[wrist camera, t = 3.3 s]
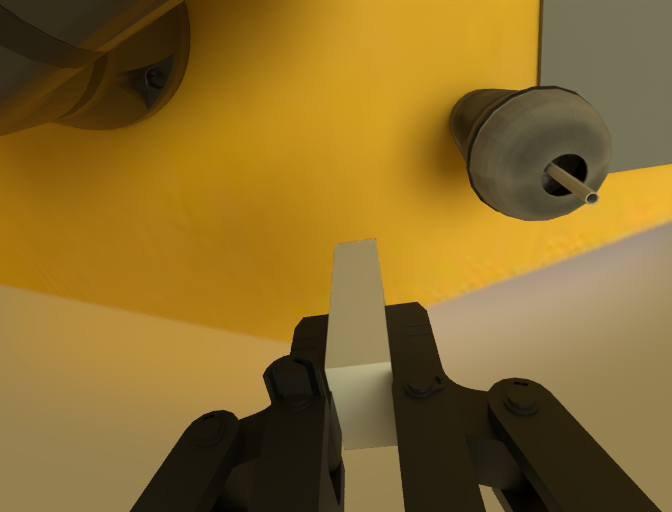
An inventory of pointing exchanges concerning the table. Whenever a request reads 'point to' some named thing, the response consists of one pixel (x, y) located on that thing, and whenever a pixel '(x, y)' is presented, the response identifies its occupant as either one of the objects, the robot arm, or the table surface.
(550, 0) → the mat
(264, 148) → the table surface
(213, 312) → the table surface
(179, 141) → the table surface
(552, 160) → the beverage cup
